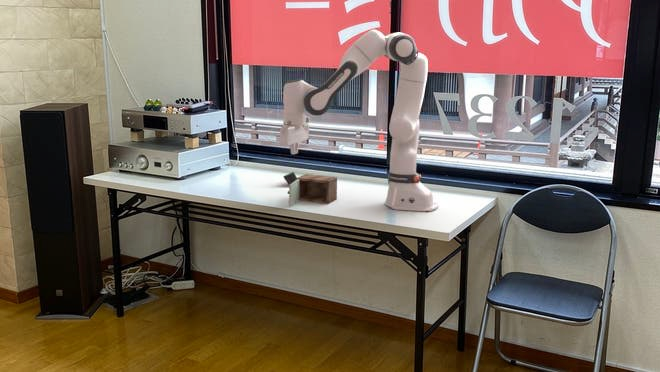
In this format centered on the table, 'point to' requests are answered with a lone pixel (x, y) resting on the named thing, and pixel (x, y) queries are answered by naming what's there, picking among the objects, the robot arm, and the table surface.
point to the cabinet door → (294, 192)
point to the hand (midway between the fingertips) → (294, 153)
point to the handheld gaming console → (290, 178)
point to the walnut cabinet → (318, 188)
